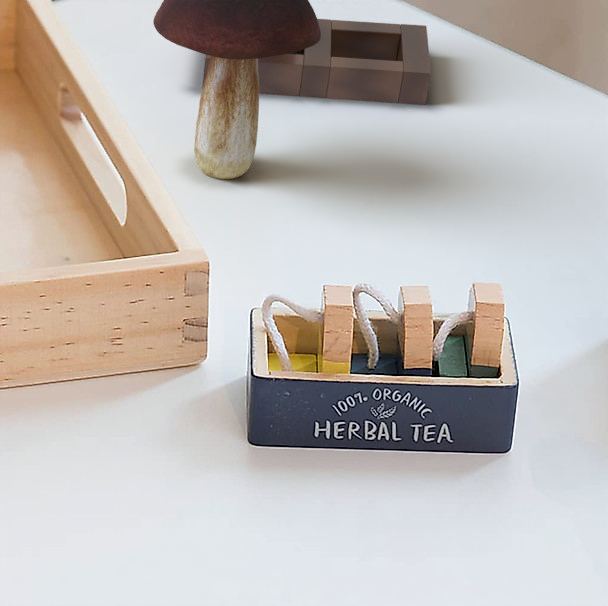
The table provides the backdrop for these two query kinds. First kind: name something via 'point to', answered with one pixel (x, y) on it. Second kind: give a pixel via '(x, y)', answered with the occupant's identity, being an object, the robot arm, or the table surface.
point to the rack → (353, 64)
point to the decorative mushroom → (234, 67)
